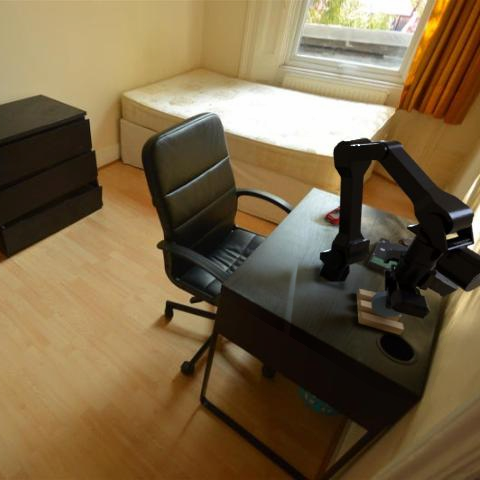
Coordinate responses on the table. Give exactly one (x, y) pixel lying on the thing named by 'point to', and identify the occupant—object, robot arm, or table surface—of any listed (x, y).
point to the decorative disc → (407, 241)
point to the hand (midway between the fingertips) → (387, 305)
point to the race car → (333, 216)
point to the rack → (375, 314)
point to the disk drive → (380, 250)
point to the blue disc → (382, 305)
